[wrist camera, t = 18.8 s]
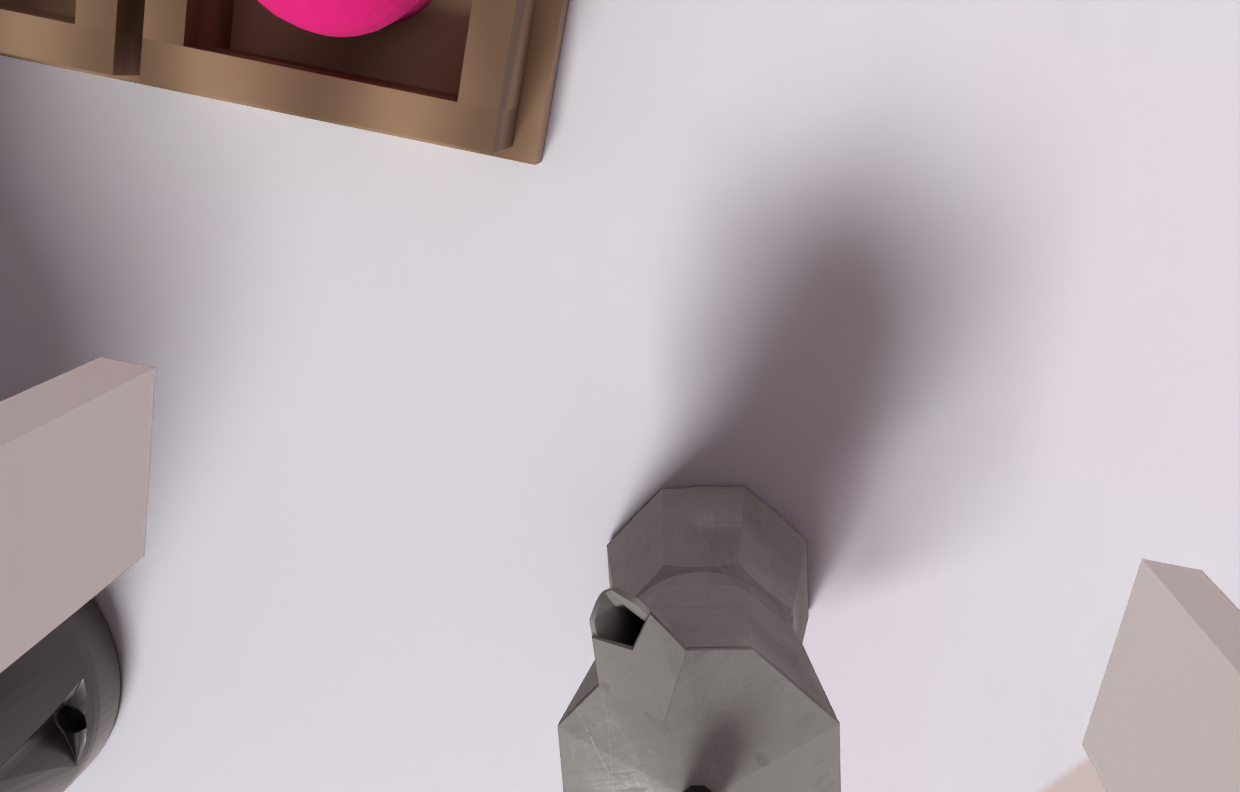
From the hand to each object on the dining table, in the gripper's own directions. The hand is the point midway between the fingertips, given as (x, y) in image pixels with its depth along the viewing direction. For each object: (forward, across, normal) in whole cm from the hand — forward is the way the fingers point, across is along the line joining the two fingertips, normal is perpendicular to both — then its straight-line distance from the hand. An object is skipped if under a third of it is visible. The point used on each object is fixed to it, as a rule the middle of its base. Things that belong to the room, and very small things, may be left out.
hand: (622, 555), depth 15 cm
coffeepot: (+33, -4, +16) cm, 37 cm away
